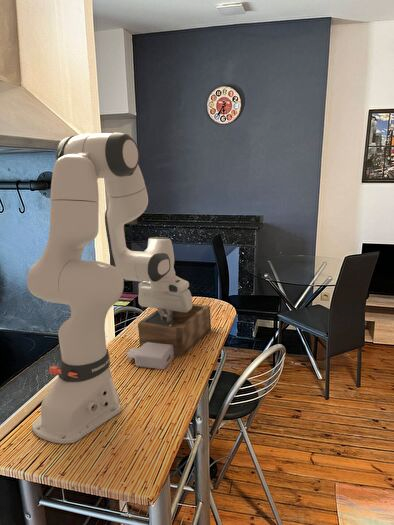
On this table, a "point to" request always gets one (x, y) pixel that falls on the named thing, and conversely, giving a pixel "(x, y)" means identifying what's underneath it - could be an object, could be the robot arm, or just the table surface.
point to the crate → (179, 330)
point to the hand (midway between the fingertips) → (166, 320)
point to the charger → (152, 355)
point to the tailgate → (158, 319)
